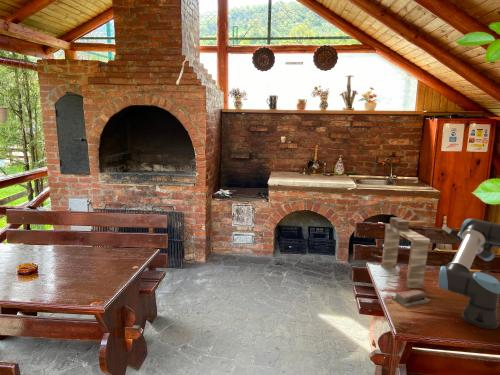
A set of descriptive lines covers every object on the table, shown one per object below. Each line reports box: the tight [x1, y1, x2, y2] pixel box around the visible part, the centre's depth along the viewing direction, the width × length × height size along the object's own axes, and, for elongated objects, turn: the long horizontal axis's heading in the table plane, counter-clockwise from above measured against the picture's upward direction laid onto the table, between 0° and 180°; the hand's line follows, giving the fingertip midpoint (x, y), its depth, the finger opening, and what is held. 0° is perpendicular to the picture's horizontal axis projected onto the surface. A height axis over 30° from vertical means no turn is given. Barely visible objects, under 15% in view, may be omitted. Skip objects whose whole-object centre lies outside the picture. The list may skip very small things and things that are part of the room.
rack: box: [380, 223, 431, 289], centre depth 219 cm, size 32×10×30 cm, turn 8°
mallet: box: [388, 216, 427, 229], centre depth 224 cm, size 10×22×5 cm, turn 98°
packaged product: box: [391, 289, 431, 308], centre depth 190 cm, size 18×5×10 cm
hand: (450, 230), depth 220 cm, fingers open, 13 cm apart
